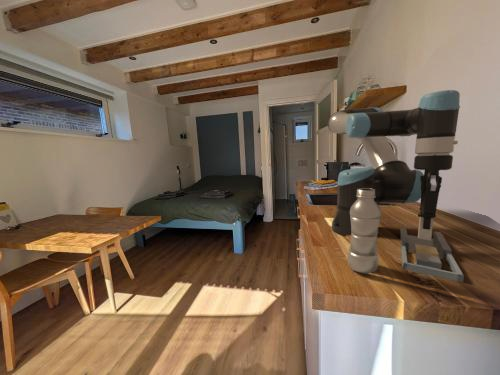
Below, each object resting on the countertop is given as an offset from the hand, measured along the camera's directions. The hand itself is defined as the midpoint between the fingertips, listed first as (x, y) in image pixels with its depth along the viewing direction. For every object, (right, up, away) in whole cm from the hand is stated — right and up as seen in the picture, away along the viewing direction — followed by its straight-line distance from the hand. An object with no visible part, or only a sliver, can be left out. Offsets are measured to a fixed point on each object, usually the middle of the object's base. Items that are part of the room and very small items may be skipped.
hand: (424, 238), depth 57 cm
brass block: (-4, -4, -5) cm, 8 cm away
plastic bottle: (-22, -6, -8) cm, 24 cm away
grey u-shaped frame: (-6, -5, -8) cm, 11 cm away
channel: (+2, -3, +3) cm, 5 cm away
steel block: (-7, -5, -8) cm, 12 cm away
